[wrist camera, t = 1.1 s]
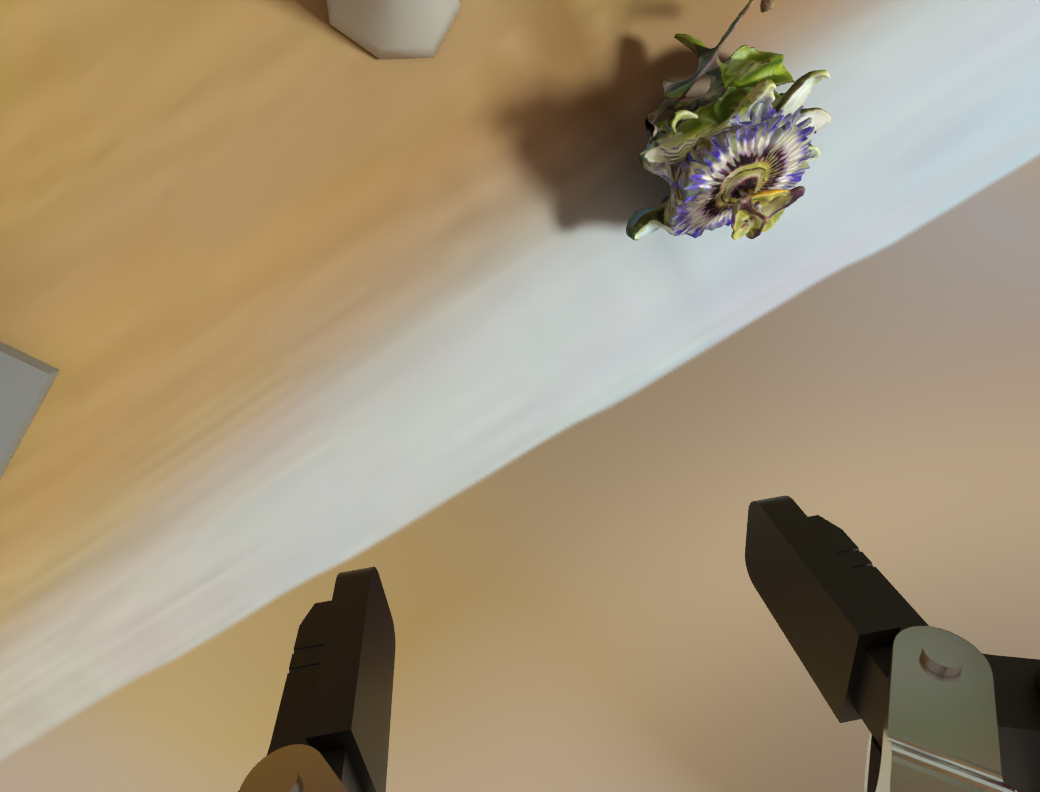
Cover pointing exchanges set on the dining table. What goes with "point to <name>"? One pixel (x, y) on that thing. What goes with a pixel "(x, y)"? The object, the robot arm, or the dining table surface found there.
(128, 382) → the dining table surface
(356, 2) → the flask
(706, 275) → the dining table surface
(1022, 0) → the dining table surface
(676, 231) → the passion flower
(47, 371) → the board
